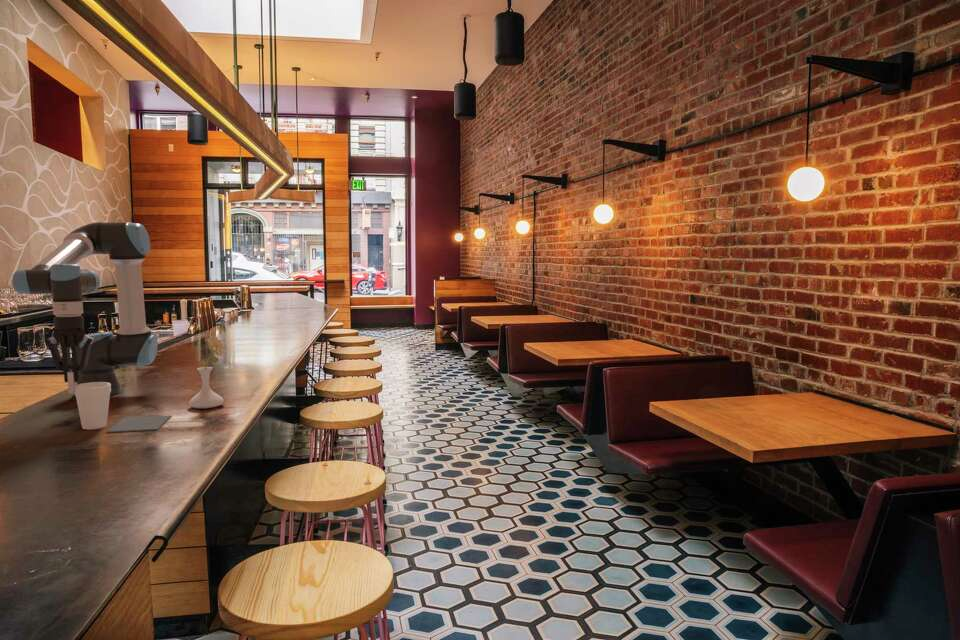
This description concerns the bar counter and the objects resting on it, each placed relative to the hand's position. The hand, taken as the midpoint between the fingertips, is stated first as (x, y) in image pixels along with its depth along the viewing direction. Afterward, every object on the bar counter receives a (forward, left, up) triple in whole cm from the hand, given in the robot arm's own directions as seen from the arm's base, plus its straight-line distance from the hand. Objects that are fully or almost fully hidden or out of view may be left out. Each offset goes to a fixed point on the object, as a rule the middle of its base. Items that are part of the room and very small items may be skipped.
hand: (73, 392), depth 185 cm
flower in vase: (-20, +34, -11) cm, 41 cm away
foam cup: (0, +5, -11) cm, 12 cm away
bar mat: (0, +18, -11) cm, 21 cm away
